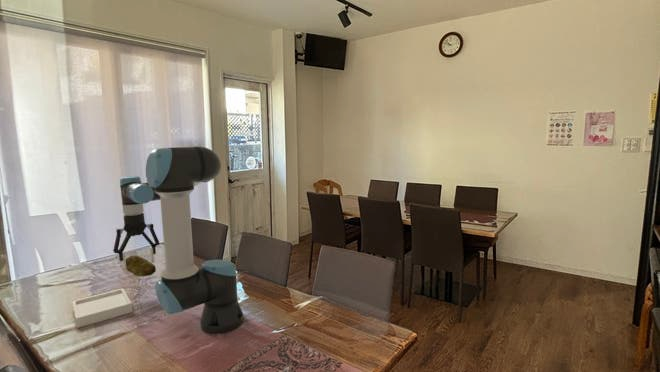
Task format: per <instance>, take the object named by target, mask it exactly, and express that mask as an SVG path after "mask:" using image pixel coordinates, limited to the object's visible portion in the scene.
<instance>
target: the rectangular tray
mask: <svg viewBox="0 0 660 372" xmlns="http://www.w3.org/2000/svg"><path fill="white" fill-rule="evenodd" d="M71 302H72V309H73V315H74V319H75V325H76V328H77V329H78V328H82V327H86V326H89V325H92V324H96V323H99V322H102V321H106V320H111V319H113V318H117V317H119V316H120V317H121V316H123V315H127V314H130V313H133V304H132V301H131V300H130V298H129V296H128V294H127V292H126V290H125V289H124V288H123V287H122V288H119V289H115V290H111V291H107V292H102V293H99V294H95V295H91V296H90V295H89V296H86V297H83V298H79V299H74V300H72V301H71Z"/></svg>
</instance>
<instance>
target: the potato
mask: <svg viewBox="0 0 660 372" xmlns="http://www.w3.org/2000/svg"><path fill="white" fill-rule="evenodd" d="M125 260H126V269H125V270H126V271H128V272H130V274H133V275H134V276H136V277H149V276H152V275H154V274H155V273H156V272H157V270H156V269H157V268H156V267H157V266H156V265H155V264H154V263H152V262H151V261H149V260H148V259H146V258H144V257H142V256H140V255H130V256H128V257H127V258H125Z"/></svg>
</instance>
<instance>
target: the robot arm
mask: <svg viewBox="0 0 660 372" xmlns="http://www.w3.org/2000/svg"><path fill="white" fill-rule="evenodd" d="M219 157H220V156H218V155H217V153H216V152H214V151H213V150H212V149H210V148H208V147H205V146H187V147H186V146H185V147H184V146H183V147H179V146H178V147H177V146H176V147H161V148H155V149H152V150H151V151H150V153H149V155H148V157H147V159H146V163H145V178H146V182H142V180H141V177H140V176H137V175H134V176H123V177H121V178H120V179H119V188H120V196H121V203H122V204H121V205H122V213H123V222H124V223H123V225H124V226H123V227H120V228H117V227H116V228H115V232H116V234H115V242H114V246H113V250H112V252H113V254H118V258H119V259H118V260H119V261H120V262H122V267H123V269H125V270H127V269H126V253H125V250H126V247H127V245H128V242H130V239H131V237H136V236H141V235H142V236H143V238H144V239H145V240H146V241H147V243H149V244H148V245H150V246H149V248H148V249H149V257H150V258H149V259H150V262H151V263H152V264H155V259H154V258H155V256H154V255H156V253H157V252H156V250H157V249H156V247H157V246H160V241H159V238H158V235H157V234H156V231H155V230H154V224H153V223H146V222H145V213H144V204H148V203H149V202H153V201H155V202H156V201H160V209H161V223H162V225H161V226H162V234H163V235H162V236H163V237H162V238H163V248H164V249H163V250H164V264H165V268H164V269H163V270H162V271H161V272H160V273H161V274H160V277H161V280H160V279H159V280H157V281H156V282H155V284H154V285H155V286H154V290H155V294H156V297H157V300H158V302H159V305H160V307H161V308H162V310H163V311H164V312H165V314H168V315H174V314H178V313H182V312H184V311H187V310H189V309H192V308H194V307H197V306H200V305H203V304H204V305H203V310H202V313H201V317H200V329H201V330H202V331H203V332H205V333H208V334H224V333H228V332H230V331H231V332H232V331H234V330H236V329H237V328H238V327H240V326H241V325H242V324H243V323H244V311H243V310H242V307H241V305H240V302H239V300H238V287H237V286H238V284H237V275H238V274H237V268H236V265H235V264H234V263H233V262H232V261H230V260H226V259H209V260H206V261H204V262H202V263H201V266H200V269H199V266H197V265H196V264H195V263H194V246H193V234H192V233H193V232H192V231H193V230H192V215H191V201H190V194H191V193H192V192H193V191H194V190H195V187H196V186H198V185H200V184H202V183H209V182H211V181H213V180H214V179H216V178H217V176H218V175H219V174H220V173H221V169H222V163H221V159H220V158H219ZM146 228H147V229H148V230H149V232H150V233H151V236H152V239H153V241H152V239H151V238H150V237H149V236H148V235H147V234H146V232H145V229H146ZM124 232H125V233H126V234H125V237H124V239H123V241H122V243H121V245H120V241H121V237H122V234H123V233H124ZM119 246H120V247H119Z"/></svg>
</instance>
